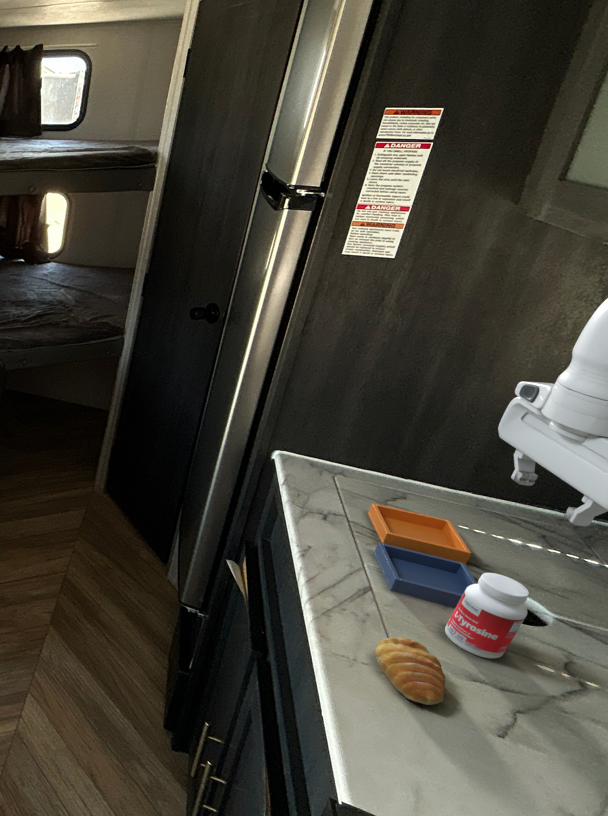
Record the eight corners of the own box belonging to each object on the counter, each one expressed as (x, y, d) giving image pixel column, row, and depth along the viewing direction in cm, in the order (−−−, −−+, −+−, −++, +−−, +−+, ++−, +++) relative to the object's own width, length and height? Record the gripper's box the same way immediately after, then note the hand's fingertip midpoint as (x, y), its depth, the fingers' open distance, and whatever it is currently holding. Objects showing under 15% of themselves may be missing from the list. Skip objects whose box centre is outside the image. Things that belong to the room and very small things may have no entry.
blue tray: (458, 574, 105) (464, 563, 104) (483, 615, 97) (490, 603, 96) (373, 553, 110) (378, 542, 109) (390, 590, 101) (395, 578, 100)
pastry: (455, 718, 80) (467, 697, 79) (388, 698, 83) (398, 677, 82) (427, 663, 88) (438, 643, 87) (367, 646, 91) (376, 627, 90)
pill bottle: (433, 632, 93) (463, 574, 89) (459, 622, 95) (490, 564, 91) (486, 665, 88) (521, 605, 84) (512, 653, 90) (548, 594, 86)
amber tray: (444, 531, 115) (450, 520, 114) (466, 564, 107) (471, 553, 106) (367, 513, 120) (372, 502, 119) (382, 544, 112) (387, 533, 111)
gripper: (711, 456, 70) (646, 555, 76) (564, 382, 88) (520, 466, 94) (639, 448, 72) (580, 545, 77) (509, 377, 90) (469, 460, 95)
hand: (546, 501), depth 86 cm, fingers open, 8 cm apart
